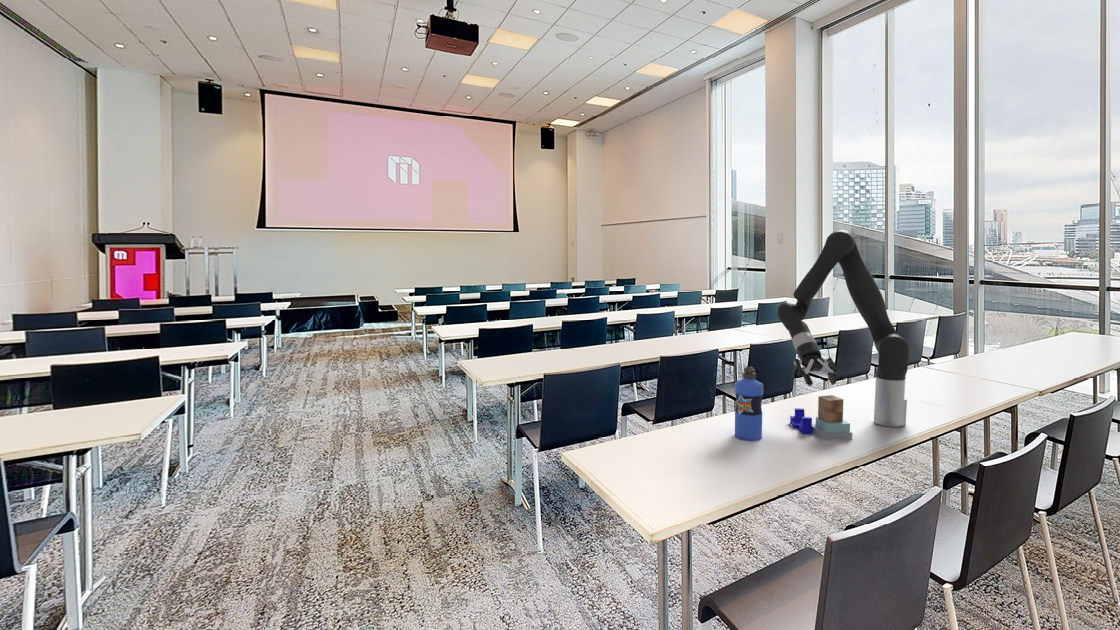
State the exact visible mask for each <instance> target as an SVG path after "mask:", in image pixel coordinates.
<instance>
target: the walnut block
mask: <svg viewBox="0 0 1120 630" xmlns="http://www.w3.org/2000/svg"><path fill="white" fill-rule="evenodd" d="M817 408H818V409H817V417H818V419H820V420H822V421H825V422H827V423H836V422H843V420H844V399H843V398H841V397H839V396H836V395H833V394H830V395H828V394H827V395H819V396H818V405H817Z"/></svg>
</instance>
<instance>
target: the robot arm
mask: <svg viewBox="0 0 1120 630" xmlns="http://www.w3.org/2000/svg"><path fill="white" fill-rule="evenodd" d="M837 264H839V265H840V267H841V270H842V273H843V277H844V281H845V285H846V287H847V290H848V293H849V295H850V297H851V299H852V301H853V303H854V305H855V308H856V309H857V311H858V313H859V314H860V316H861V318H862V319H863V320H864V321H865V324H866V325H867V327H868V329H869V332H870V334H871V337H872V340H873V344H874V346H875V349H876V351H877V353H878V364H877V368H876V370H875V387H874V388H875V391H874V392H875V393H874V410H873V422H874V423H875V424H877V425H880V426H884V427H888V428H889V427H890V428H900V427H903V426H906V425H907V407H908V400H907V398H905V394H906V377H907V376H906V375H907V373H908V368H909V357H910V349H909V344H908V342H907V340H906V339H904V337H901V336H900V335H899V333H898V332H897V330H896V329H895V327H894V325H893V324H892V322H891V320H890V318H889V315H888V311H887V308H886V303H885V300H884V297H883V295H882V293H881V291H880V288H879V286H878V284H877V283H876V280H875V279H874V277H873V276H872V274H871V271H869V269H868V267H867V265H866V263H864V261H863V259H862V257H861V254H860V251H859V248H858V246H857V242H856V239H855V236H854V235H853V234H852V233H851V231H848V230H846V229H837V230H835V231H833V232H831V233H830V234H829V235H828V236H827V237H826V239H825V243H824V246H823V247H822V250H821V252H820V254H819V256H818V258H817V259H816V261H815V262H814V264H813V265H812V267H811V268H810V269H809V271H808V272H806V274H805V275H804V277H803V278H802V280H801V281H800V282H799V284H798V285H797V287H796V288H795V289H794V291H793V298H794V299H796V302H795V304H794V303H791V302H786V301H785V302H782V303H780V304H779V305H778V306H777V311H776V312H777V313H776V314H777V316H778V319H779V321H780V322H781V324H782V325H783V327H785V329H786V330H787V331H788V332H789V335H790V338H791V341H792V343H793V348H794V349H795V351H796V353H797V357H798V358H799V359H798V358H795V359H794V361H793V363H792V365H793V366H794V367H793V368H794V370H795V373H796V376H798V377H803V379H804V381H805V384H806V385H808V387H812V385H813V384H814V382H813V380H812V377H811V374H809V372H821V373H822V374H825V375H826V376H827V378H828V381H829V382H830V385H832V386H834V385H835V384H836V383H837V378H836V376H835V375H836V374H837V372H838V367H837V366H836V364H835V362H834V360H833V358H832V357H828V358H824V357H823V356H822V353H821V351H820V347H819V346H818V344H817V341H816V339H815V338H814V337H815V336H814V335H812V332H811V330H810V328H809V326H808V324H807V323H806V322H805V321H803V320H804V319H805V318H806V317H807V314H808V311H809V309H810V305H811V302H812V301H813V299H814V298H815V296H816V295H817V293H818V292H819V290H820V289H821V288H822V286H823V284H824V282H825V281H826V279H827V278H828V276H829V275H830V273H831V272H832V270H833V269H834V268H835V266H836V265H837ZM802 367H804V369H803V368H802Z"/></svg>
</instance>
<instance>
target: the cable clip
mask: <svg viewBox="0 0 1120 630" xmlns="http://www.w3.org/2000/svg"><path fill="white" fill-rule="evenodd" d="M789 420H790V421H789V424H790V425H791V426H792V428H793V429H798V430H799V431H800V433H801V434H802V435H812V434H813V433H812V424H813V418H812V416H805V408H801V407H800V408H798V407H797V408H796V407H795V408H794V415H790V418H789Z"/></svg>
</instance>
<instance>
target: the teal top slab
mask: <svg viewBox="0 0 1120 630" xmlns="http://www.w3.org/2000/svg"><path fill="white" fill-rule="evenodd" d="M815 424H816V426H818V427H819V428H820V429H822V430H823V431H825V432H826V433H831V432H851V423H850V422H848V421H847V420H845V419H843V422H836V423H827V422H825V421H822V420H820V419H818V416H815Z"/></svg>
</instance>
